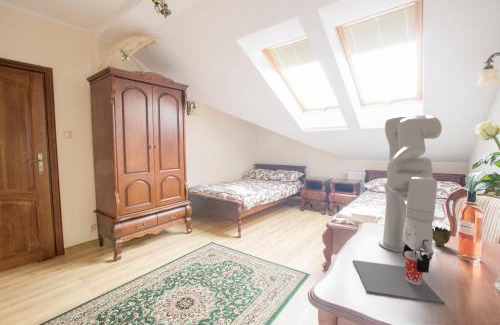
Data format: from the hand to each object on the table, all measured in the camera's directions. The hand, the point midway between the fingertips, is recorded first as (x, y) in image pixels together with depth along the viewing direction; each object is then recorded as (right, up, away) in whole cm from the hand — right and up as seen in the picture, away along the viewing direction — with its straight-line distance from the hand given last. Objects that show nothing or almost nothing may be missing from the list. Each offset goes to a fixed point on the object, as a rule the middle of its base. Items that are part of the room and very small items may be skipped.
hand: (414, 264), depth 78 cm
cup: (+34, -5, +32) cm, 47 cm away
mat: (-7, -6, +2) cm, 9 cm away
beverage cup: (0, -6, +1) cm, 6 cm away
